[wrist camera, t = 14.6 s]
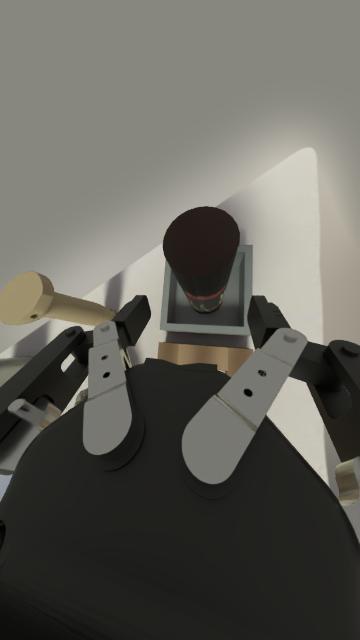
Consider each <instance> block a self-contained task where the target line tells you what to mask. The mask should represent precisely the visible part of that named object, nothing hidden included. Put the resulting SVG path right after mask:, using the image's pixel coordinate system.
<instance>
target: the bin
mask: <svg viewBox="0 0 360 640" xmlns="http://www.w3.org/2000/svg"><path fill="white" fill-rule="evenodd" d="M252 251H253V245H241V246H238V250H237V253H236V256H235V260H234V263H233V267H232V270H231V274H230V277H229V281H228V284H227V288H226V291H225V295H224V298H223V302H222V304H221V306H220V307H219V309H217V310H216V311H215V312H213V313H210V314H201V313H198V312H196V311H195V310H194V309H193V308H192V307H191V305H190V303H189V301H188V300H187V298H186V296H185V294H184V292H183V290H182V288H181V286H180V284H179V283H178V281H177V279H176V277H175V275H174V273H173V271H172V269H171V268H170V266H169V264H168V262H167V260H166V263H165V275H164V286H163V298H162V310H161V322H160V330H164V331H169V332H185V333H202V334H219V335H236V336H247V335H251V333H250V329H249V326H248V322H247V314H248V309H249V305H250V300H251V297H252Z"/></svg>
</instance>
